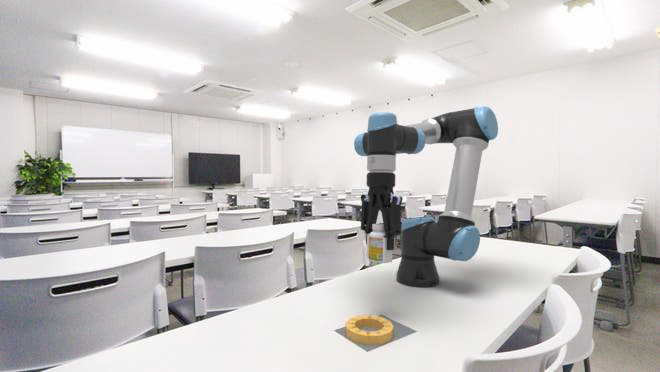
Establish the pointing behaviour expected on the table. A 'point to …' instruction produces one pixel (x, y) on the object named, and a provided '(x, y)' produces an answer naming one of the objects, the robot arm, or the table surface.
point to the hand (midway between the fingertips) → (379, 259)
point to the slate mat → (399, 329)
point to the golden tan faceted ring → (371, 336)
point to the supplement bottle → (376, 243)
